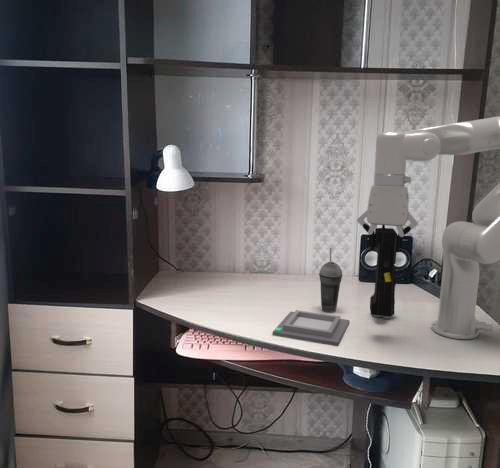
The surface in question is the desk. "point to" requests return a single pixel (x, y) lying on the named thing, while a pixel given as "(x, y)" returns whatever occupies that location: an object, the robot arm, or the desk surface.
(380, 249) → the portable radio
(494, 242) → the robot arm
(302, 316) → the charging dock
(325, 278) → the beverage cup
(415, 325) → the desk surface
